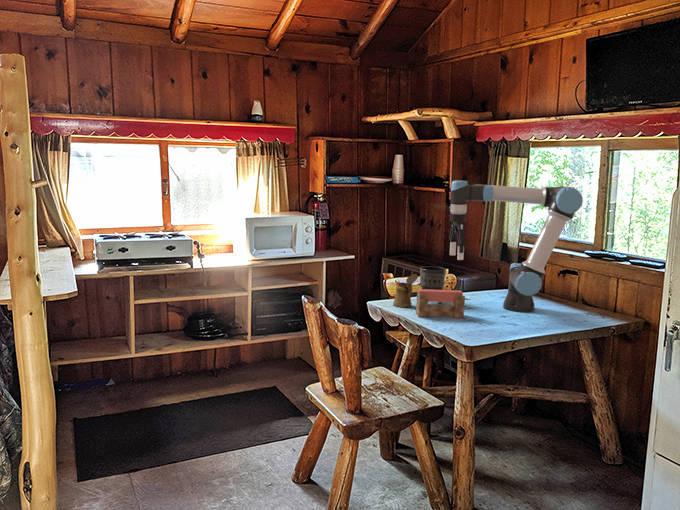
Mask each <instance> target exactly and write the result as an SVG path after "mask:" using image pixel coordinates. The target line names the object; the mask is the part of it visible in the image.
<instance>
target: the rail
mask: <svg viewBox="0 0 680 510" xmlns="http://www.w3.org/2000/svg"><path fill="white" fill-rule="evenodd" d="M417 291H418V301H419V294H423V295H428V303H430V302H431V303H438V302H442V303H451V304H452V303H455V302H456V296H464V294H463V291H462V290H454V289H453V290H451V289H448V290H447V289H443V290H425V289H421V288H419V289H418V290H417Z"/></svg>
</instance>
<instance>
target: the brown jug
mask: <svg viewBox="0 0 680 510" xmlns="http://www.w3.org/2000/svg"><path fill="white" fill-rule="evenodd" d="M418 278H419V275H418V274H417V273H413V274H411V275H409V276H408V277H407V278H406V281H405V282H397V285H396V287H395V289H396V290H395V295H394V298H393V299H394V300H393V302H392V306H393V307H396V308H402V309H405V308H406V309H407V308H411V307H412V305H413V304H412V300H411V299H412V298H411V297H412V294H413V284H414V283H415V282H416V281H417V280H418Z"/></svg>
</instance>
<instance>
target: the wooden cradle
mask: <svg viewBox="0 0 680 510" xmlns="http://www.w3.org/2000/svg"><path fill="white" fill-rule="evenodd" d="M465 301H466V295H463V296H456V302H455V303H452V302H451V305H450V304H449V305H448V304H446V305H445V304H429V302H428V295H423V294H419V301H418V290H417V291H416V302H415V303H416V305H415V307H416V308H415V314H416V316H417V317H418V318H428V317H453V318H454V319H461V320H463V319H464V317H465V315H464V314H465V306H466V305H465Z"/></svg>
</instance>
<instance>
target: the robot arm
mask: <svg viewBox="0 0 680 510" xmlns="http://www.w3.org/2000/svg"><path fill="white" fill-rule="evenodd" d="M468 201H469V202H493V201H494V202H507V203H518V204H530V205H540V206H541V207H542V208H547V213H548V216H547V217H546V219H545V222H544V223H543V225H542V228H541V230H540V232H539V234H538V236H537V238H536V240H535V243H534V245H533V247H532V248H531V250H530V253H529V255H528V257H527V259H526V260H525V261H522V262H521V263H519V262H518V263H516V262H515V263H513V262H512V263H511V264H510V267H509V276H508V286H507V287H508V290H507V294H506V296H505V298H504V301H503V302H502V303H503V304H502V307H503V309H505V310H508V311H512V312H517V313H532V312H534V311H535V309H536V307H535V306H536V305H535V302H534V297H533V296H534V295H536V294H538V293H539V292H540V290H541V289H542V284H543V282H542V281H543V279H544V276H545V274H546V271H545V267H546V265H547V263H548V261H549V259H550V258H551V255H552V253H553V251H554V248H555V246H556V244H557V242H558V241H559V238H560V236H561V234H562V232H563V230H564V228H565V226H566V225H567V222H570V221H572V220H573V217H574V216H575V213H576V212H578V211H579V210H580V209H581V208H582V205H583V195H582V194H581V192H580V191H579V190H578V189H577V188H575V187H571V186H565V185H564V186H563V185H561V186H544V187H542V188H538V187H537V188H533V187H523V186H507V185H494V184H481V183H475V184H468V181H467V180H453V181H451V188H450V206H449V211H450V212H449V213H450V214H449V222H451V223H450V224H451V225H450V231H449V235H448V236H449V237H448V240H449V242H450V243H449V256H456V254H457V261H463V260H464V256H465V255H464V253H465V246H466V245H467V243H466V234H465V224H463V223H465V222H466V221H467V210H468V209H467V207H468V206H467V205H468V203H467V202H468ZM456 251H457V252H456Z"/></svg>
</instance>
